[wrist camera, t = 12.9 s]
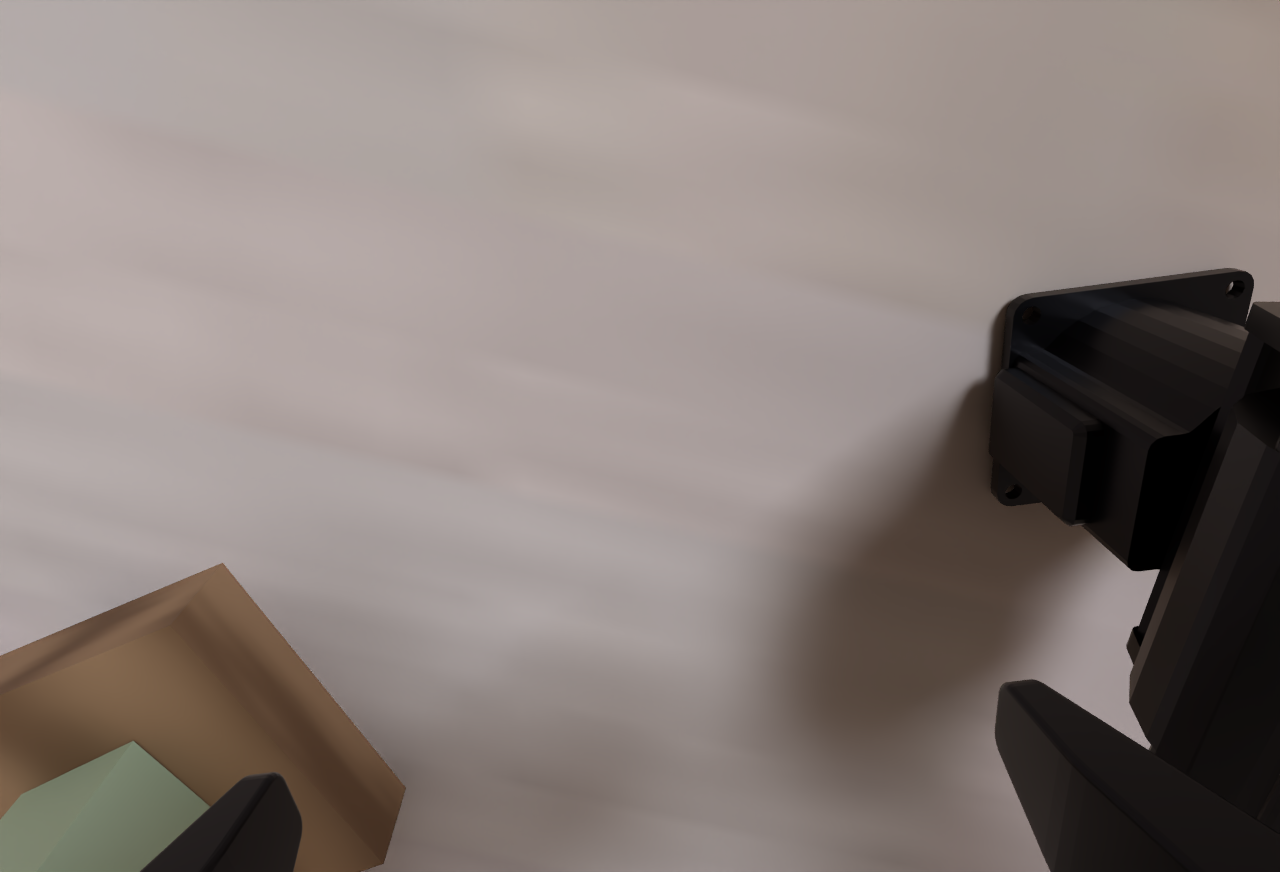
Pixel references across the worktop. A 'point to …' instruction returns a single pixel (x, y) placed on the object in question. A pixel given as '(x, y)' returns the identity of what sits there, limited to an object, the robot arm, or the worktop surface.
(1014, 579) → the worktop surface
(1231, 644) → the robot arm
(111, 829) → the green block
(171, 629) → the walnut riser
